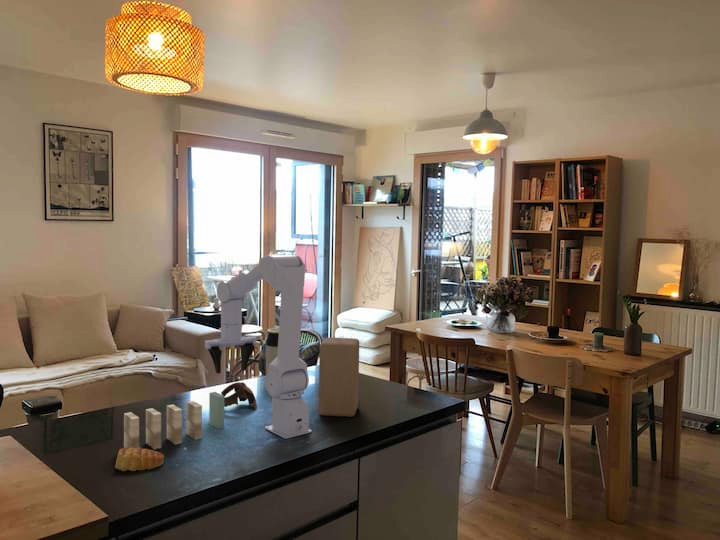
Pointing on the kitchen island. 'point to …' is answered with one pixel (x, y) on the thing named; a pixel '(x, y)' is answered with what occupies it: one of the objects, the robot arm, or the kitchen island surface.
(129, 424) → the domino
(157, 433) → the domino
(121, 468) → the pastry
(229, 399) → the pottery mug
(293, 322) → the robot arm
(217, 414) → the domino
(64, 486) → the kitchen island surface
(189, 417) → the domino
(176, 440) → the domino
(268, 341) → the travel mug
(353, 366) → the wooden block
